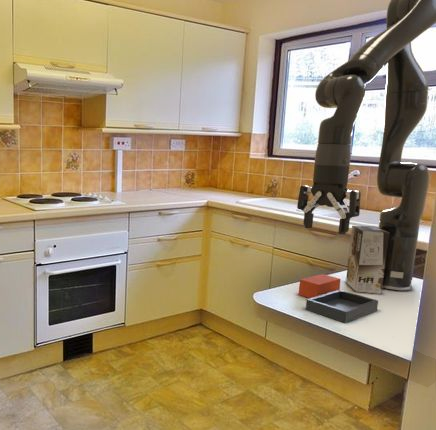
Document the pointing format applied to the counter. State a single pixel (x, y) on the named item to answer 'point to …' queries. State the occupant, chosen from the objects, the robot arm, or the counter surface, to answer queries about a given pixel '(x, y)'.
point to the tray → (342, 305)
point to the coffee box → (367, 258)
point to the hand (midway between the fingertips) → (324, 230)
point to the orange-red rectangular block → (318, 285)
